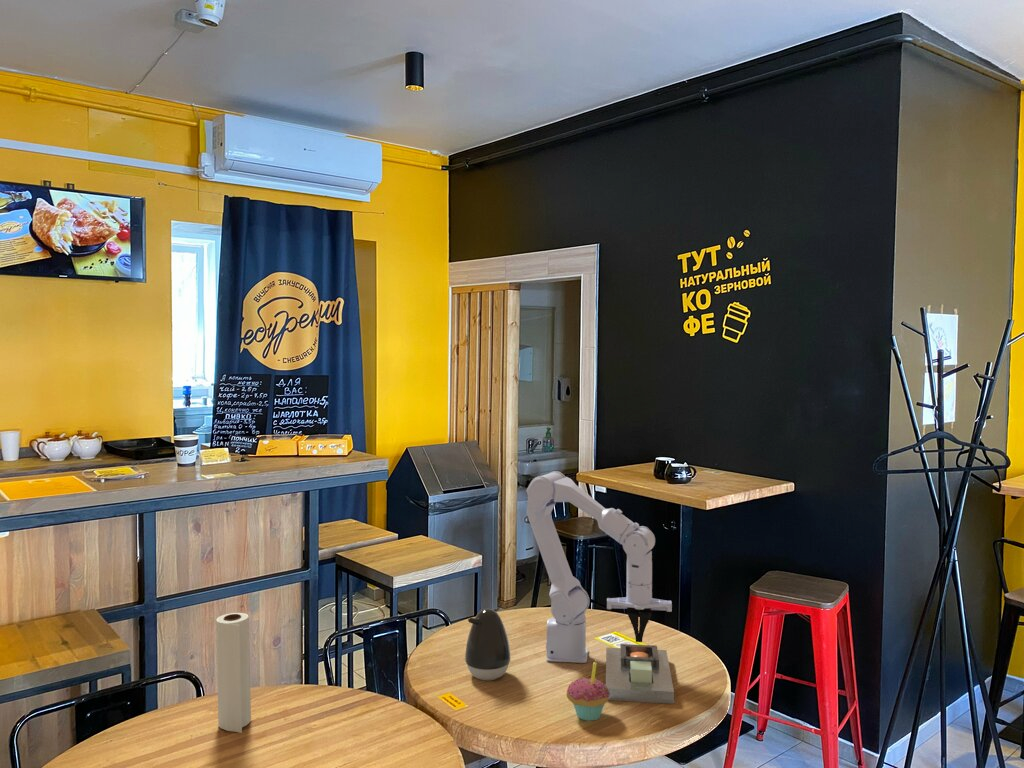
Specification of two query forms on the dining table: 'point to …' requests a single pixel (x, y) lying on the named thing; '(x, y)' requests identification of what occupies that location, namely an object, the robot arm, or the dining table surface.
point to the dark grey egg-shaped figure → (487, 646)
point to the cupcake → (588, 696)
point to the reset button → (638, 654)
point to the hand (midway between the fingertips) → (638, 640)
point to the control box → (638, 692)
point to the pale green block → (640, 672)
